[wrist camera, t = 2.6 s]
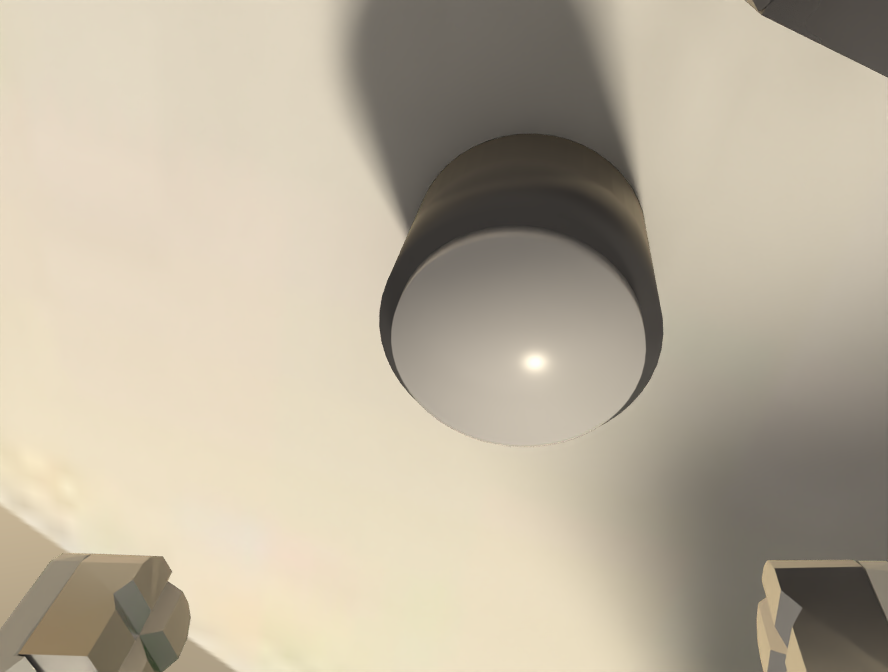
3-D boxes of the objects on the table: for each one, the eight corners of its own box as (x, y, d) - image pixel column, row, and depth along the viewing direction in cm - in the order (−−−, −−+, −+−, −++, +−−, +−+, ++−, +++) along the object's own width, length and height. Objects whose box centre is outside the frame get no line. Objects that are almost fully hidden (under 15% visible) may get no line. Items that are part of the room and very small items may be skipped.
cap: (648, 122, 15) (671, 208, 11) (644, 336, 18) (661, 460, 14) (398, 143, 16) (346, 229, 13) (433, 342, 19) (399, 458, 16)
